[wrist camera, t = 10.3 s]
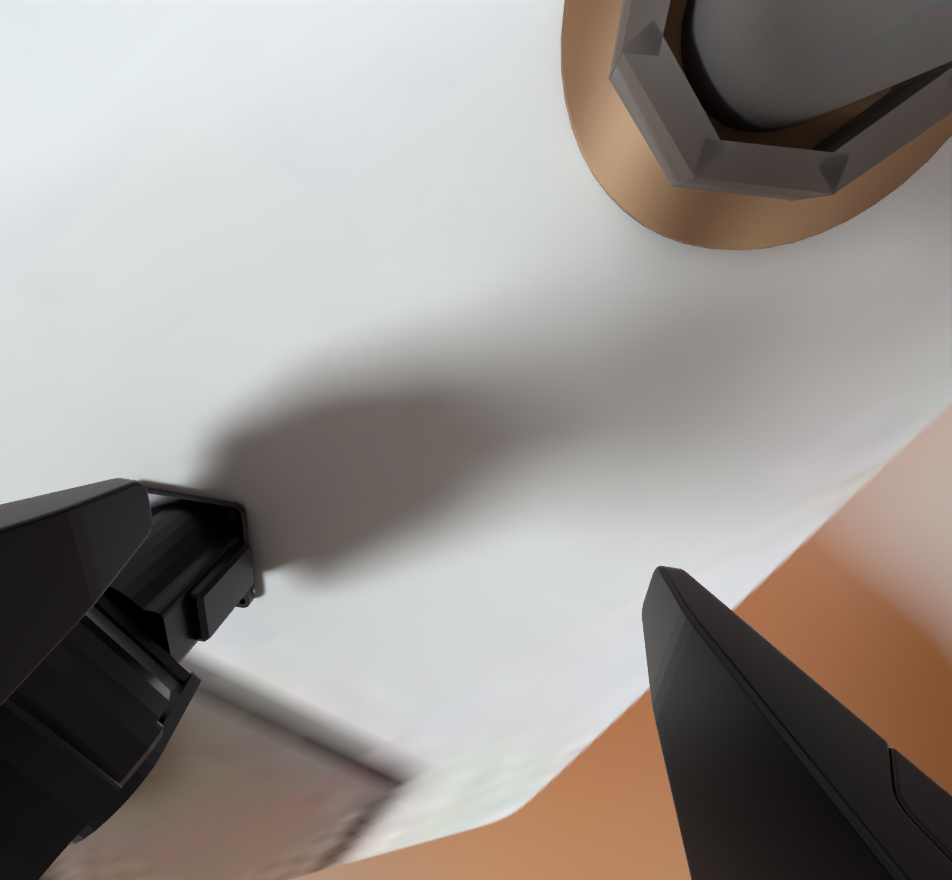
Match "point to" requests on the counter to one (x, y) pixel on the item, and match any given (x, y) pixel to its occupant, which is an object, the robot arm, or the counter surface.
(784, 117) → the bottle
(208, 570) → the robot arm
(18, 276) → the counter surface
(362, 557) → the counter surface
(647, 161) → the ring coaster
